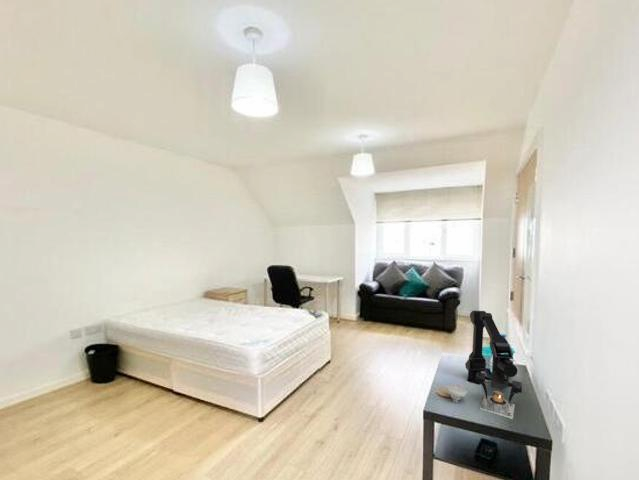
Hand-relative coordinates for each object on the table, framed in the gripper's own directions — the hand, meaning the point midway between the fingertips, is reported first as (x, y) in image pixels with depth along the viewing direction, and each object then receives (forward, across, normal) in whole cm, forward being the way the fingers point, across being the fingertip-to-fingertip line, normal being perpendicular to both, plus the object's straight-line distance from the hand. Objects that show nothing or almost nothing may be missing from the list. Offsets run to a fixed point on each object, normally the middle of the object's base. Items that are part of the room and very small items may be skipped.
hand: (497, 399), depth 150 cm
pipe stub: (+3, 0, 0) cm, 3 cm away
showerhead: (+4, -18, -6) cm, 19 cm away
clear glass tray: (+4, 0, 0) cm, 4 cm away
